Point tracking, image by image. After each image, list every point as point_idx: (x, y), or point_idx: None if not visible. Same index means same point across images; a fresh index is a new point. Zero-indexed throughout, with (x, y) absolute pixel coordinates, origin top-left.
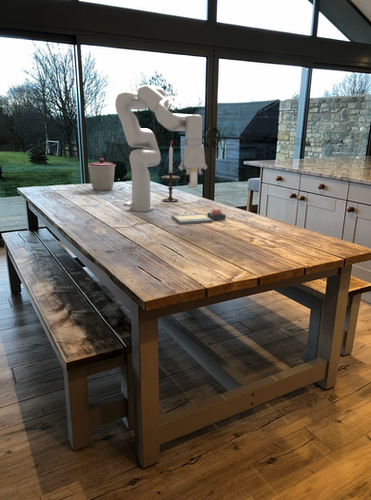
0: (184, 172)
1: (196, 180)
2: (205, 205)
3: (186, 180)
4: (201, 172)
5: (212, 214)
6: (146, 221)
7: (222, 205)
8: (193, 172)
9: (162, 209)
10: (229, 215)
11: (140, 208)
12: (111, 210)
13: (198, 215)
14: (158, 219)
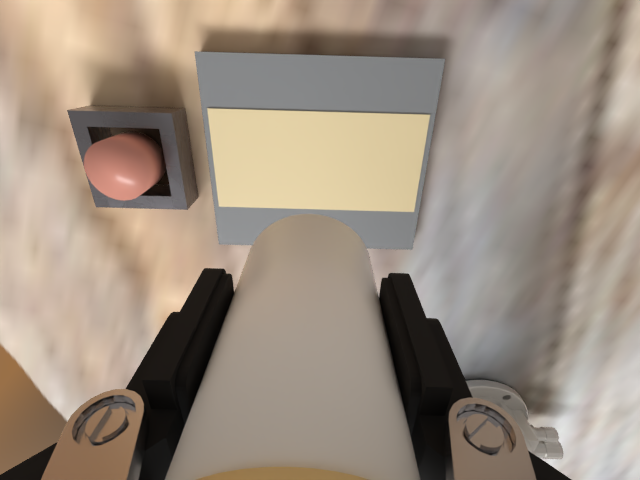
0: (563, 475)
1: (257, 283)
2: None
3: (434, 323)
4: (60, 452)
5: (167, 140)
6: (590, 196)
7: (59, 402)
8: (328, 422)
9: None
10: (46, 206)
11: (495, 401)
12: (598, 424)
13: (256, 198)
14: (499, 223)
